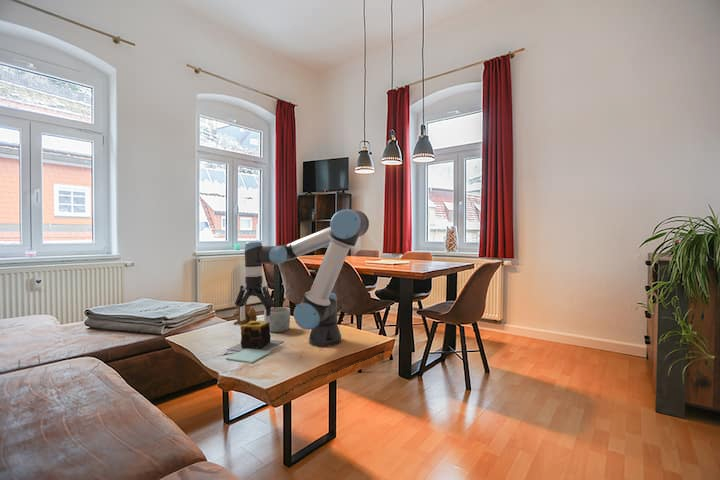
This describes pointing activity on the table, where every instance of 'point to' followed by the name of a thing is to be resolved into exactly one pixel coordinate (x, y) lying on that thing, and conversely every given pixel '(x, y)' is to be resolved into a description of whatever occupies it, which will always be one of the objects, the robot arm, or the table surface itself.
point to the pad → (249, 355)
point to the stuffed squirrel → (249, 314)
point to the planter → (279, 319)
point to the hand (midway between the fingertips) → (254, 321)
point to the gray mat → (266, 347)
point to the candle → (255, 334)
